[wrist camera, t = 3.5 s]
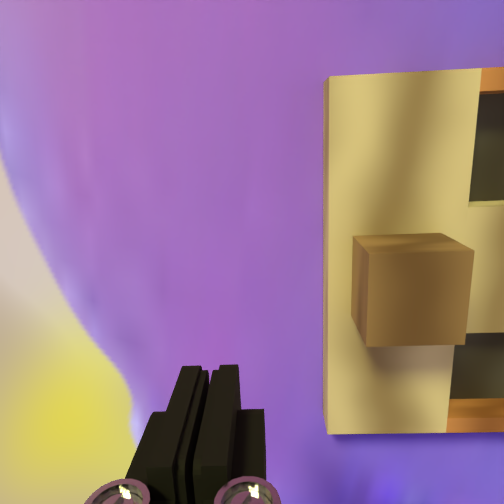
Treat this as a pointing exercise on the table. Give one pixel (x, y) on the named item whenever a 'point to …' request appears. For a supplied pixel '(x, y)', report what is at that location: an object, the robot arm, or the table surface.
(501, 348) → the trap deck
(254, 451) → the robot arm
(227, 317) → the table surface
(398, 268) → the walnut block
